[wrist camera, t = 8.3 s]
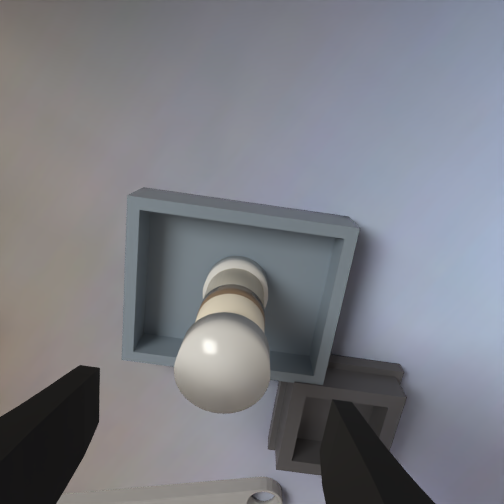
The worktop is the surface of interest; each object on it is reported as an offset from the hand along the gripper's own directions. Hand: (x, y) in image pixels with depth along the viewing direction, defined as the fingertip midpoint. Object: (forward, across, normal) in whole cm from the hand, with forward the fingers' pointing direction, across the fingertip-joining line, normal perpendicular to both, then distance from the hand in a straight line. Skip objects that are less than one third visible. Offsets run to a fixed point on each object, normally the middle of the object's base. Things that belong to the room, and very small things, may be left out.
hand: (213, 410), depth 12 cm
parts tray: (+10, 0, 0) cm, 10 cm away
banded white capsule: (+10, 0, 0) cm, 10 cm away
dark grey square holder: (+10, -7, +7) cm, 15 cm away
